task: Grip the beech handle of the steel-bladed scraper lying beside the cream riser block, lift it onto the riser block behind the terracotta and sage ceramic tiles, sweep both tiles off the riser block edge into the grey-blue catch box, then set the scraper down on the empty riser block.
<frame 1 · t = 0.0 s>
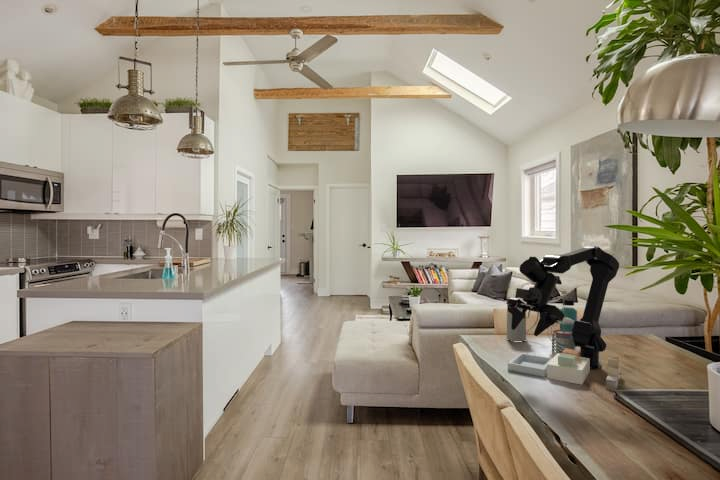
hand: (523, 332, 134), 15 cm above the table, tool tilted 35°, fingers open, 9 cm apart
beverage bottle: (568, 349, 168), on the table
cream riser block: (568, 374, 138), on the table
terracotta tile: (571, 358, 141), point 4 cm above the table, touching cream riser block
sage tile: (566, 363, 135), point 4 cm above the table, touching cream riser block
french press: (561, 357, 157), on the table
scraper: (613, 383, 130), on the table
catch box: (531, 367, 145), on the table
glass holder: (522, 340, 183), on the table
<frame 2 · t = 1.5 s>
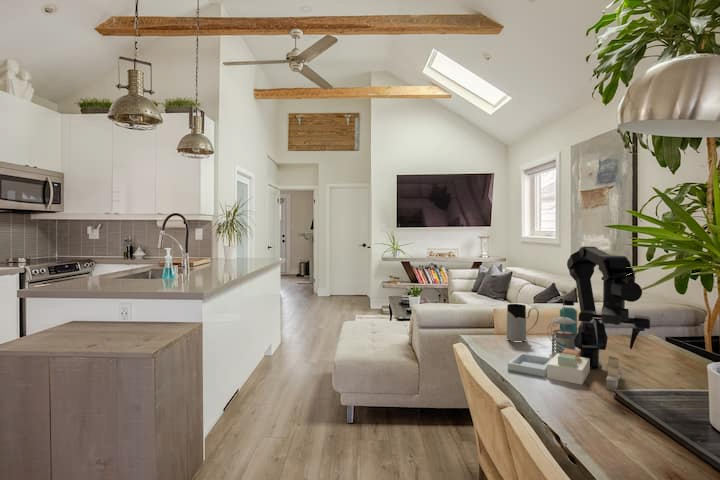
hand: (613, 346, 130), 11 cm above the table, tool pointing down, fingers open, 9 cm apart
nothing on the table moved.
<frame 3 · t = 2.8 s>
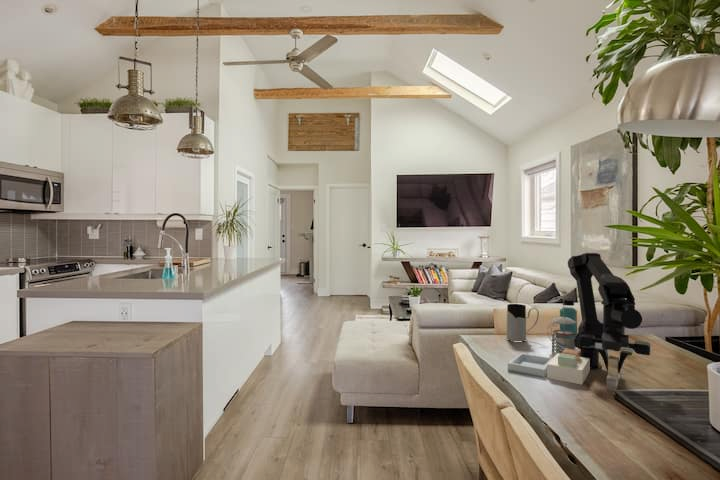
hand: (613, 371, 130), 4 cm above the table, tool pointing down, fingers closed on scraper, 2 cm apart
scraper: (613, 383, 130), on the table, touching gripper
everything else where it was.
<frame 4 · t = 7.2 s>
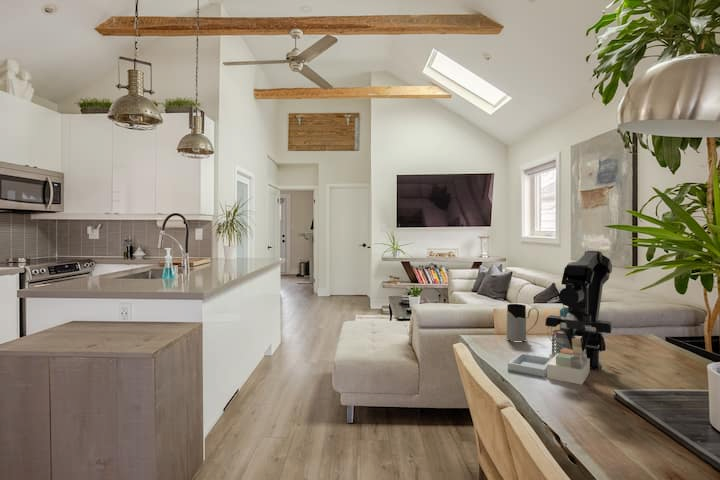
hand: (577, 350, 136), 8 cm above the table, tool pointing down, fingers closed on scraper, 3 cm apart
terracotta tile: (568, 358, 141), point 5 cm above the table
sage tile: (564, 363, 135), point 5 cm above the table, touching scraper
scraper: (579, 362, 136), point 5 cm above the table, tilted 5°, touching gripper, sage tile
everything else where it was.
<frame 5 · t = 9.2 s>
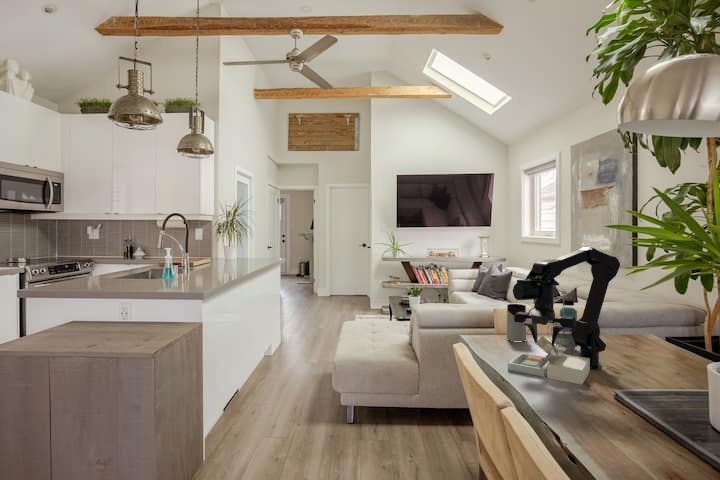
hand: (544, 345, 142), 9 cm above the table, tool pointing down, fingers closed on scraper, 5 cm apart
terracotta tile: (535, 357, 147), point 3 cm above the table, tilted 180°, touching catch box
sage tile: (530, 362, 141), point 3 cm above the table, tilted 180°, touching catch box
scraper: (559, 356, 139), point 6 cm above the table, tilted 54°, touching cream riser block, gripper
everything else where it was.
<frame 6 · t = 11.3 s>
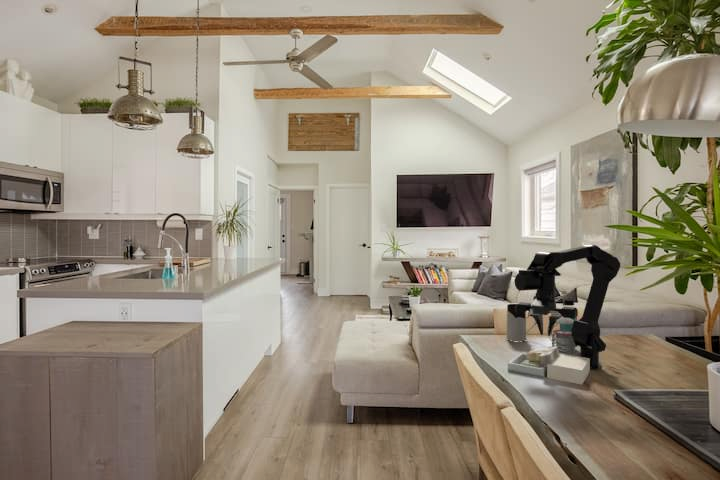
hand: (545, 335, 142), 12 cm above the table, tool pointing down, fingers closed
terracotta tile: (535, 357, 147), point 3 cm above the table, tilted 180°, touching catch box, scraper
sage tile: (530, 362, 141), point 3 cm above the table, tilted 180°, touching catch box, scraper
scraper: (554, 354, 140), point 6 cm above the table, tilted 103°, touching cream riser block, sage tile, terracotta tile
everything else where it was.
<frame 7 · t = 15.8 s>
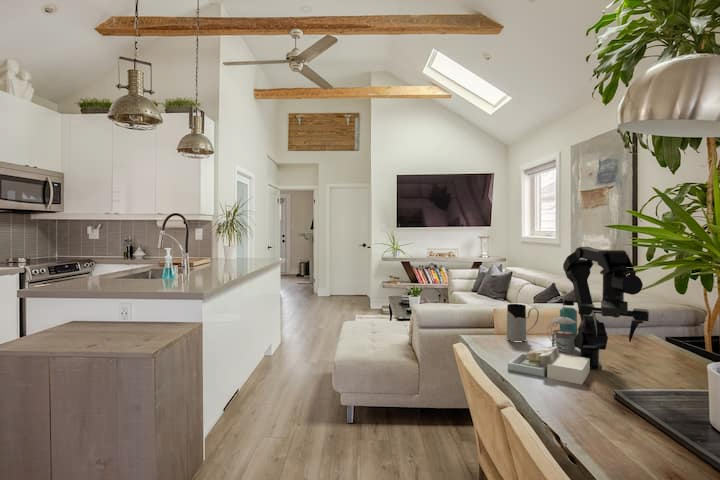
hand: (612, 339, 133), 13 cm above the table, tool pointing down, fingers open, 9 cm apart
nothing on the table moved.
at the end: terracotta tile inside the target area (3.6 cm from its centre), point 2.9 cm above the table; sage tile inside the target area (3.9 cm from its centre), point 2.9 cm above the table; scraper inside the target area (4.5 cm from its centre), point 5.9 cm above the table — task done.
